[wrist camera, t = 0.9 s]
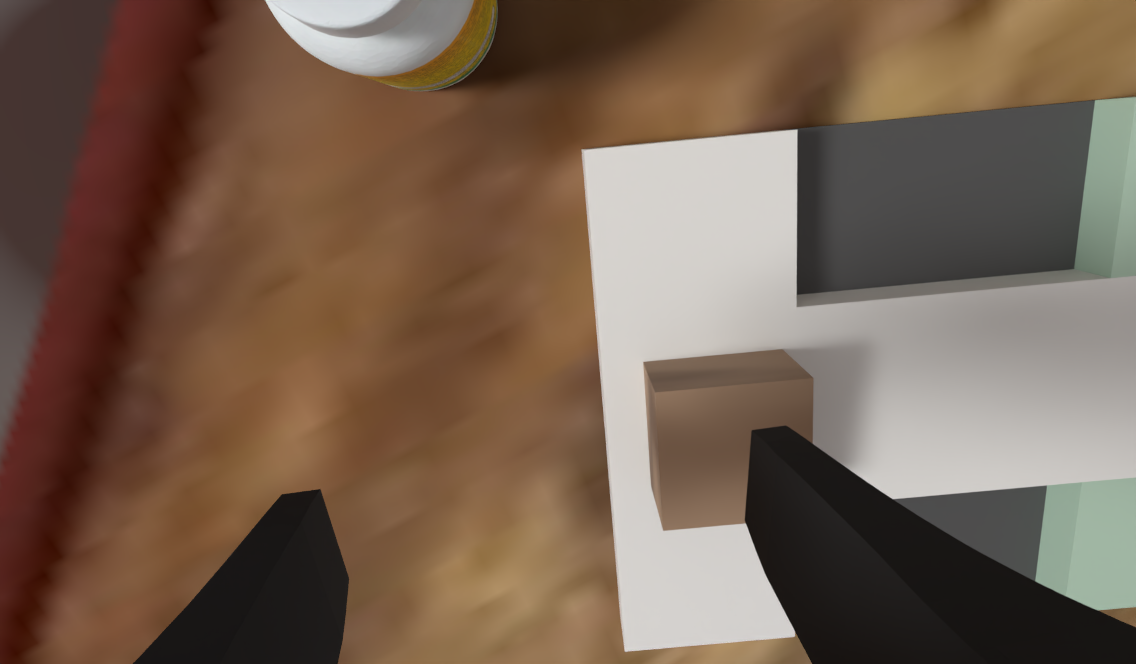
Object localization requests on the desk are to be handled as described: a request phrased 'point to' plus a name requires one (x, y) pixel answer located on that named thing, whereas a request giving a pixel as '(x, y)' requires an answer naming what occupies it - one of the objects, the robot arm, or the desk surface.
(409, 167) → the desk surface
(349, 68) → the supplement bottle
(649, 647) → the trap board
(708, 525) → the walnut block
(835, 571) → the robot arm
